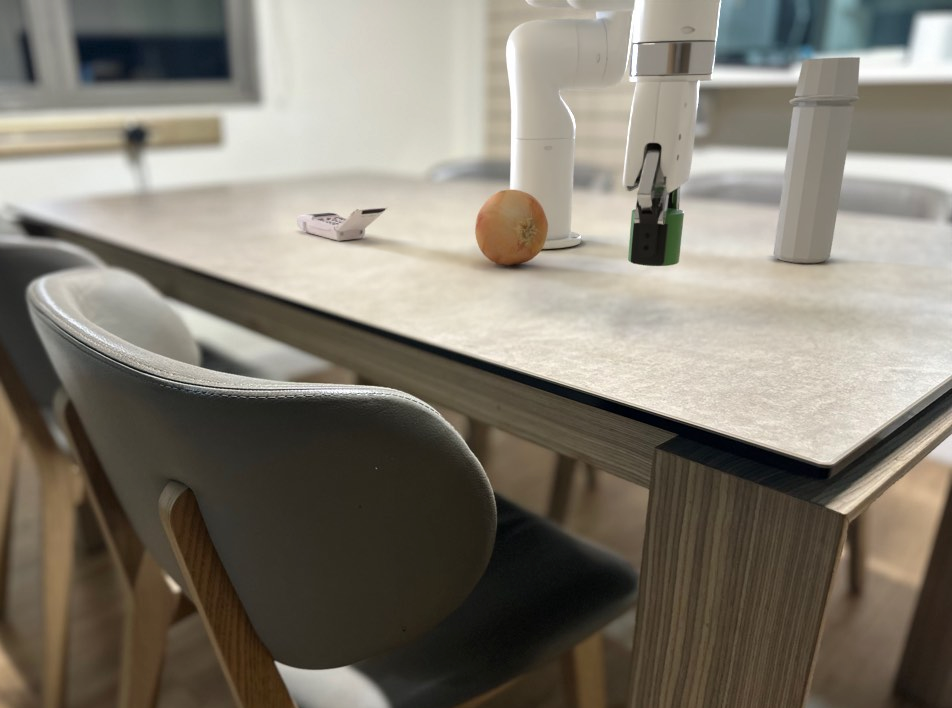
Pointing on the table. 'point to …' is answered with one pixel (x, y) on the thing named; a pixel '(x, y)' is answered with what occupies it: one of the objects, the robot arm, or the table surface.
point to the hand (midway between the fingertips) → (653, 256)
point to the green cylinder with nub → (673, 236)
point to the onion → (511, 227)
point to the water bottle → (816, 158)
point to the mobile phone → (339, 224)
